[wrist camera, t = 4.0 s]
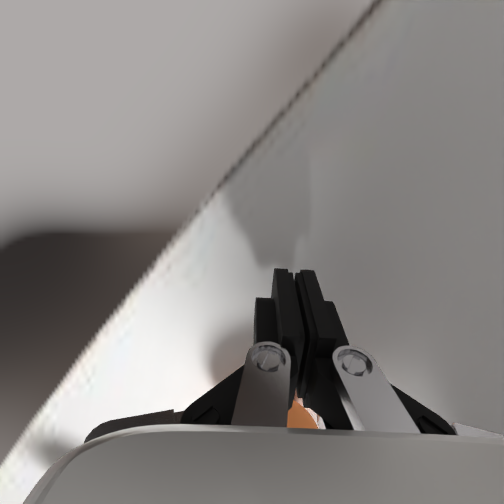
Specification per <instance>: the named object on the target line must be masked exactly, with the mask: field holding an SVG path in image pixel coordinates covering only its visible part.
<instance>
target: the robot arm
mask: <svg viewBox="0 0 504 504" xmlns="http://www.w3.org/2000/svg"><path fill="white" fill-rule="evenodd" d="M295 390H297V396H298V398H302V399H303V405H304V408H311V409H312V410H313V411H314V412H315V413H316V414H317V422H318V426H319V428H320V429H311V428H287V419H288V411H289V410H290V409H291V408H292V404H293V399H294V395H295ZM23 504H504V435H502V434H498V433H494V432H490V431H486V430H482V429H479V428H475V427H471V426H467V425H463V424H459V423H455V422H453V424H452V425H449V424H448V423H447V422H446V421H445V420H444V419H443V418H441V417H440V416H439V415H437V414H436V413H434V412H433V411H431V410H430V409H428V408H427V407H425V406H423V405H422V404H420V403H419V402H417V401H416V400H414V399H413V398H411V397H410V396H408V395H407V394H405V393H404V392H402V391H401V390H399V389H398V388H396V387H395V386H393V385H391V384H390V383H389V382H388V380H387V379H386V377H385V375H384V374H383V372H382V371H381V369H380V367H379V366H378V364H377V363H376V361H375V360H374V359H373V357H372V356H371V355H370V354H369V353H367V352H366V351H364V350H362V349H360V348H358V347H354V346H350V345H349V343H348V340H347V337H346V335H345V332H344V329H343V327H342V324H341V321H340V319H339V316H338V313H337V311H336V308H335V305H334V303H333V302H332V301H324V299H323V296H322V293H321V290H320V287H319V284H318V281H317V277H316V274H315V272H314V270H300V273H296V274H295V279H294V278H293V273H290V272H288V269H278V268H275V269H274V275H273V285H272V294H271V298H256V302H255V315H254V345H253V346H252V347H251V348H250V349H249V351H248V353H247V357H246V361H245V365H243V366H242V367H241V368H239V369H238V370H237V371H235V372H234V373H233V374H231V375H230V376H228V377H227V378H226V379H224V380H223V381H222V382H220V383H219V384H218V385H216V386H215V387H214V388H212V389H211V390H209V391H208V392H207V393H205V394H204V395H203V396H201V397H200V398H199V399H197V400H196V401H195V402H193V403H192V404H191V405H190V406H189V407H188V408H187V409H186V410H185V411H181V412H175V413H174V409H172V410H167V411H161V412H155V413H150V414H144V415H138V416H133V417H127V418H121V419H116V420H110V421H107V422H105V423H102V424H100V425H99V426H97V427H96V428H94V429H93V430H92V431H91V432H90V434H89V435H88V436H87V437H86V439H85V441H84V444H82V445H80V446H78V447H76V448H74V449H73V450H71V451H69V452H68V453H66V454H65V455H64V456H62V457H61V458H60V459H58V460H57V461H56V462H55V463H54V464H53V465H52V466H51V467H50V468H49V469H48V470H47V471H46V473H45V474H44V475H43V476H42V478H41V479H40V480H39V481H38V483H37V484H36V485H35V487H34V488H33V489H32V491H31V492H30V494H29V495H28V496H27V498H26V499H25V501H24V502H23Z"/></svg>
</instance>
